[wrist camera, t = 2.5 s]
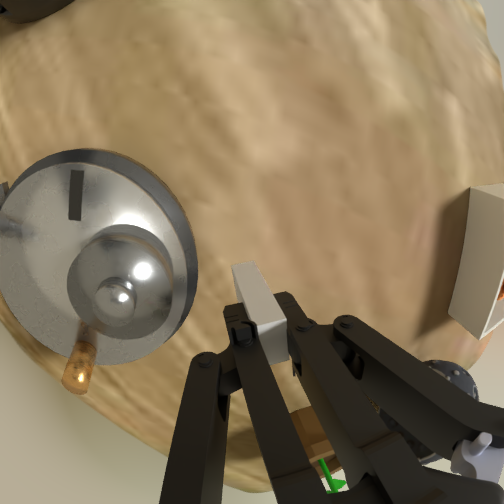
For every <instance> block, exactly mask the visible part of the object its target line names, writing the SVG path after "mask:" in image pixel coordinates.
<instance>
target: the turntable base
mask: <svg viewBox="0 0 504 504" xmlns="http://www.w3.org/2000/svg"><path fill="white" fill-rule="evenodd" d="M68 162H90V163H96V164H101V165H104V166H107V167H110V168H113V169H115V170H118V171H120V172H122V173H124V174H126V175H128V176H129V177H131V178H132V179H134V180H135V181H137V182H138V183H140V184H141V185H142V186H143V187H144V188H145V189H146V190H148V191H149V192H150V193H151V194H152V195H153V196H154V197H155V199H156V200H157V201H158V202H159V203H160V204H161V205H162V207H163V208H164V210H165V211H166V213H167V214H168V215H169V217H170V218H171V220H172V222H173V224H174V226H175V228H176V230H177V232H178V235H179V237H180V240H181V243H182V246H183V250H184V254H185V259H186V268H187V296H186V301H185V306H184V310H183V313H182V315H181V318H180V320H179V322H178V324H177V326H176V328H175V330H174V331H173V332H172V334H171V335H170V336H169V338H170V337H172V336H173V335H174V334H175V332H176V331H177V330H178V329H179V328H180V327H181V325H182V324H183V322H184V320H185V319H186V317H187V316H188V314H189V311H190V309H191V307H192V304H193V301H194V297H195V294H196V289H197V280H198V261H197V252H196V246H195V239H194V236H193V232H192V229H191V225H190V223H189V221H188V218H187V216H186V214H185V211H184V210H183V208H182V206H181V205H180V203H179V201H178V200H177V198H176V196H175V195H174V194H173V193H172V191H171V190H170V189H169V188H168V186H167V185H166V184H165V183H164V182H163V181H162V180H161V179H160V178H159V177H158V176H157V175H156V174H155V173H153V172H152V171H151V170H149V169H148V168H147V167H145V166H144V165H142V164H141V163H139V162H137V161H135V160H133V159H132V158H130V157H127V156H125V155H122V154H119V153H117V152H114V151H109V150H104V149H95V148H82V149H74V150H68V151H62V152H59V153H56V154H52V155H49V156H47V157H45V158H43V159H41V160H39V161H37V162H36V163H35V164H33V165H32V166H30V167H29V168H28V169H27V170H25V171H24V172H23V173H22V174H21V175H20V176H19V178H18V179H17V180H16V181H15V182H14V184H13V185H12V187H11V188H10V189H9V191H8V193H7V195H6V197H5V199H4V201H3V203H2V206H3V205H4V203H5V201H6V200H7V198H8V196H9V195H10V194H11V193H12V191H13V190H14V189H15V188H16V187H17V186H18V185H19V184H20V183H21V182H22V181H24V180H25V179H26V178H27V177H29V176H31V175H32V174H34V173H36V172H37V171H40V170H42V169H45V168H48V167H50V166H54V165H57V164H62V163H68ZM2 206H1V209H2ZM1 209H0V211H1ZM169 338H168V339H169ZM168 339H167V340H168ZM167 340H166V341H167ZM166 341H165V342H166ZM165 342H164V343H165Z"/></svg>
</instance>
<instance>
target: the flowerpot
mask: <svg viewBox="0 0 504 504" xmlns="http://www.w3.org/2000/svg"><path fill="white" fill-rule="evenodd" d="M290 416H291V419H292V421H293V423H294V426H295V428H296V431H297V433H298V435H299V438H300V440H301V442H302V445H303V447H304V449H305V452H306V454H307V456H308V459H309V461H310V463H311V465H312V466H313V467H315V469H316V470H317V472H318V474H319V476H320V478H324V477H325V478H326V480H327V482H328V485H329V487H330V489H331V491H332V492H331V491H326V492H327V494H330V493H336V492H338V489H340V488H342V487H343V486H344V485H345V484H346V481H344V480H337V479H332V477H331V474H334V473H335V472H337V471H339V470H341V469H343V468H342V466H341V464H340V462H339V460H338V458H337V456H336V454H335V452H334V450H333V448H332V446H331V444H330V442H329V440H328V438H327V436H326V434H325V432H324V430H323V428H322V426H321V424H320V422H319V420H318V418H317V416H316V414H315V412H314V410H313V407H312V406H309V407H306V408H303V409H300V410H296V411H295V412H293V413H291V414H290Z"/></svg>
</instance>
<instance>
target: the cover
mask: <svg viewBox="0 0 504 504" xmlns="http://www.w3.org/2000/svg"><path fill="white" fill-rule="evenodd" d="M173 274H174V271H173V263H172V259H171V256H170V254H169V252H168V250H167V248H166V247H165V245H164V244H163V243H162V241H161V240H160V239H159V238H158V237H156V236H155V235H154V234H153V233H151V232H150V231H148V230H146V229H144V228H142V227H139V226H136V225H132V224H115V225H111V226H108V227H105V228H103V229H102V230H100V231H99V232H97V233H96V234H95V235H94V236H93V237H92V238H91V239H90V240H89V242H88V243H87V244H86V245H85V247H84V248H83V249H82V250H81V251H80V253H79V254H78V255H77V257H76V258H75V259H74V261H73V262H72V264H71V266H70V268H69V271H68V275H67V292H68V296H69V300H70V302H71V305H72V307H73V308H74V310H75V312H76V313H77V315H78V316H79V317H80V318H81V319H82V321H83V322H85V323H86V324H87V325H88V326H89V327H91V328H92V329H93V330H95V331H97V332H98V333H101V334H103V335H105V336H108V337H111V338H115V339H122V340H131V339H138V338H142V337H145V336H148V335H150V334H152V333H153V332H155V331H156V330H158V329H159V328H160V327H161V326H162V325H163V323H164V322H165V321H166V319H167V317H168V316H169V313H170V310H171V306H172V292H173Z"/></svg>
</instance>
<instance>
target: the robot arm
mask: <svg viewBox="0 0 504 504" xmlns="http://www.w3.org/2000/svg"><path fill="white" fill-rule="evenodd" d="M72 1H74V0H0V17H2V18H4V19H6V20H8V21H10V22H13V23H26V22H31V21H35V20H38V19H40V18H43V17H45V16H47V15H50V14H52V13H54V12H55V11H57V10H59V9H61V8H63V7H64V6H66V5H67V4H69V3H71V2H72ZM231 267H232V273H233V278H234V284H235V289H236V294H237V299H238V303H237V304H232V305H228V306H225V308H224V311H223V314H224V318H225V323H226V327H227V331H228V335H229V339H230V344H229V346H228V347H227V349H226V350H224V351H223V352H221V353H219V354H215V353H213V352H202V353H200V354H197V355H196V356H195V357H194V358H193V359H192V361H191V363H190V367H189V371H188V375H187V379H186V383H185V388H184V392H183V396H182V400H181V404H180V408H179V413H178V417H177V421H176V426H175V430H174V434H173V439H172V443H171V448H170V452H169V457H168V462H167V466H166V472H165V476H164V481H163V486H162V491H161V496H160V501H159V504H221V501H222V488H223V477H224V465H225V453H226V441H227V430H228V419H229V408H230V394H231V393H233V392H235V391H237V390H239V389H241V388H242V389H243V393H244V396H245V400H246V403H247V407H248V410H249V414H250V417H251V421H252V424H253V427H254V431H255V434H256V437H257V441H258V444H259V447H260V451H261V454H262V457H263V460H264V463H265V466H266V470H267V473H268V476H269V479H270V482H271V485H272V488H273V491H274V494H275V497H276V500H277V503H278V504H504V490H503V488H502V487H501V486H500V485H498V481H499V478H500V475H501V471H502V468H503V464H504V408H500V407H496V406H493V405H488V404H485V403H482V402H479V401H477V400H476V399H474V398H473V397H472V396H470V395H469V394H467V393H466V392H464V391H463V390H461V389H460V388H459V387H457V386H456V385H454V384H453V383H451V382H450V381H448V380H447V379H446V378H444V377H443V376H441V375H440V374H438V373H437V372H435V371H434V370H433V369H431V368H430V367H428V366H427V365H425V364H424V363H422V362H421V361H419V360H418V359H417V358H415V357H414V356H412V355H411V354H409V353H408V352H406V351H405V350H403V349H402V348H401V347H399V346H398V345H396V344H395V343H393V342H392V341H390V340H389V339H387V338H386V337H384V336H383V335H382V334H380V333H379V332H377V331H376V330H374V329H373V328H371V327H370V326H368V325H367V324H365V323H364V322H363V321H361V320H360V319H358V318H357V317H355V316H352V315H342V316H339V317H337V318H336V319H335V320H334V322H333V324H329V325H319V324H317V323H316V322H315V321H314V320H312V319H309V318H307V316H306V315H305V313H304V312H303V310H302V309H301V307H300V306H299V305H298V303H297V301H296V300H295V298H294V297H293V295H291V294H290V293H288V292H286V291H285V292H280V293H276V294H272V292H271V290H270V288H269V287H268V285H267V283H266V281H265V280H264V278H263V276H262V274H261V272H260V271H259V269H258V267H257V265H256V263H255V262H254V261H249V262H244V263H240V264H235V265H231ZM289 354H290V356H291V358H292V368H293V377H294V376H295V372H296V374H297V377H298V379H299V381H300V383H301V385H302V387H303V389H304V391H305V393H306V395H307V397H308V399H309V401H310V403H311V405H312V407H313V410H314V412H315V414H316V416H317V418H318V420H319V422H320V424H321V426H322V428H323V430H324V432H325V434H326V436H327V438H328V440H329V442H330V444H331V446H332V448H333V450H334V452H335V454H336V456H337V458H338V460H339V462H340V464H341V466H342V468H343V470H344V473H345V477H346V482H347V485H348V488H349V490H347V491H342V492H336V493H330V494H327V492H326V489H325V487H324V485H323V483H322V480H321V478H320V476H319V474H318V472H317V470H316V469H315V467H313V466H312V465H311V463H310V461H309V459H308V456H307V454H306V452H305V449H304V447H303V445H302V442H301V440H300V438H299V435H298V433H297V431H296V428H295V426H294V423H293V421H292V419H291V416H290V414H289V412H288V409H287V407H286V404H285V402H284V399H283V397H282V395H281V392H280V390H279V387H278V385H277V382H276V380H275V377H274V375H273V372H272V370H271V367H270V365H273V364H276V363H280V362H283V361H287V360H289ZM365 394H366V395H367V396H368V397H369V398H370V399H371V400H372V401H374V402H375V403H376V404H377V405H378V406H379V407H380V408H382V409H383V410H384V411H385V412H386V413H387V414H389V415H390V416H391V417H392V418H393V419H394V420H396V421H397V422H398V423H399V424H400V425H401V426H403V427H404V428H405V429H406V430H407V431H409V432H410V433H411V434H412V435H413V436H414V437H416V438H417V439H418V440H419V441H420V442H422V443H423V444H424V445H425V446H426V447H428V448H429V449H430V450H432V451H433V452H434V453H436V454H437V455H439V456H441V457H443V458H445V459H447V460H450V461H451V471H452V472H453V473H459V474H461V475H462V476H460V475H456V474H452V473H447V472H443V471H440V470H436V469H432V468H428V467H425V466H422V465H421V463H420V462H419V460H418V459H417V457H416V456H415V454H414V453H413V451H412V450H411V448H410V447H409V445H408V444H407V442H406V441H405V439H404V438H403V437H402V436H401V434H400V433H398V432H396V431H390V430H389V429H388V428H387V426H386V425H385V423H384V422H383V420H382V419H381V417H380V416H379V414H378V413H377V411H376V410H375V408H374V407H373V405H372V404H371V402H370V401H369V399H368V398H367V396H366V395H365Z"/></svg>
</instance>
